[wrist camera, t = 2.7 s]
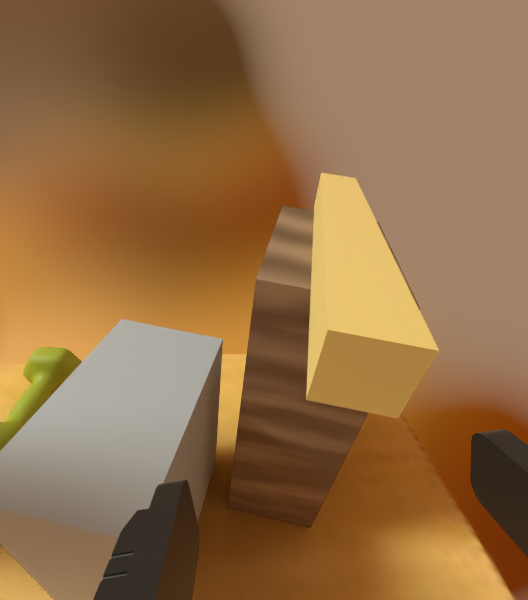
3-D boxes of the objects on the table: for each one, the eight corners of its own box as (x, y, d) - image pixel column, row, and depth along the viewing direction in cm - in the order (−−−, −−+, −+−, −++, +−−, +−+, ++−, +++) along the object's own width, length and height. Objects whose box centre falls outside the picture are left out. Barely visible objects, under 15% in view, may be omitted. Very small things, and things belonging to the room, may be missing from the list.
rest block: (164, 634, 28) (138, 543, 15) (61, 607, 28) (-44, 498, 16) (215, 462, 41) (222, 339, 29) (144, 446, 42) (121, 319, 29)
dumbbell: (36, 483, 36) (16, 450, 32) (-37, 482, 36) (-67, 448, 32) (92, 377, 50) (83, 344, 46) (41, 374, 49) (27, 341, 45)
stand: (310, 527, 36) (420, 309, 18) (227, 508, 37) (256, 279, 19) (313, 412, 49) (378, 222, 31) (252, 400, 50) (282, 205, 32)
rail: (398, 418, 11) (438, 350, 10) (306, 400, 12) (327, 329, 10) (346, 211, 33) (355, 178, 31) (314, 206, 33) (321, 172, 31)
